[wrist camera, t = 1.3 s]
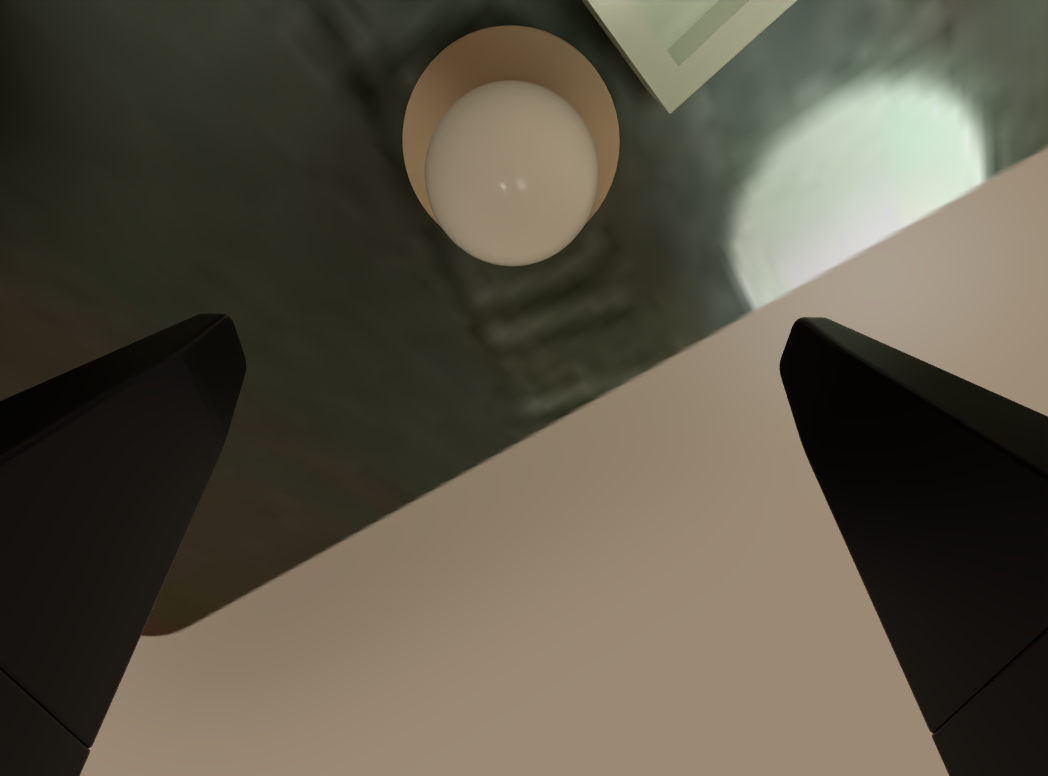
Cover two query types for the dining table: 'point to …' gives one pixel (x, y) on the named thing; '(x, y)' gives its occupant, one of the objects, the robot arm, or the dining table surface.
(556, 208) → the white egg
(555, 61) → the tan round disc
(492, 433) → the dining table surface
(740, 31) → the egg tray
